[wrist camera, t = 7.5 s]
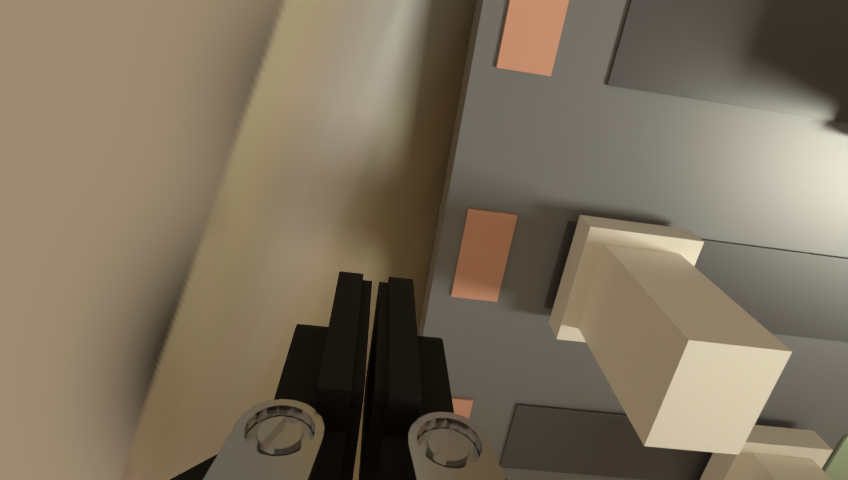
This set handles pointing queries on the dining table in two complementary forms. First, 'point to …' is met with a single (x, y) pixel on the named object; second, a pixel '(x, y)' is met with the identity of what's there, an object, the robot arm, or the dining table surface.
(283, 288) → the dining table surface
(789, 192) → the console
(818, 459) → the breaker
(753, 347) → the breaker mid
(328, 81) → the dining table surface
